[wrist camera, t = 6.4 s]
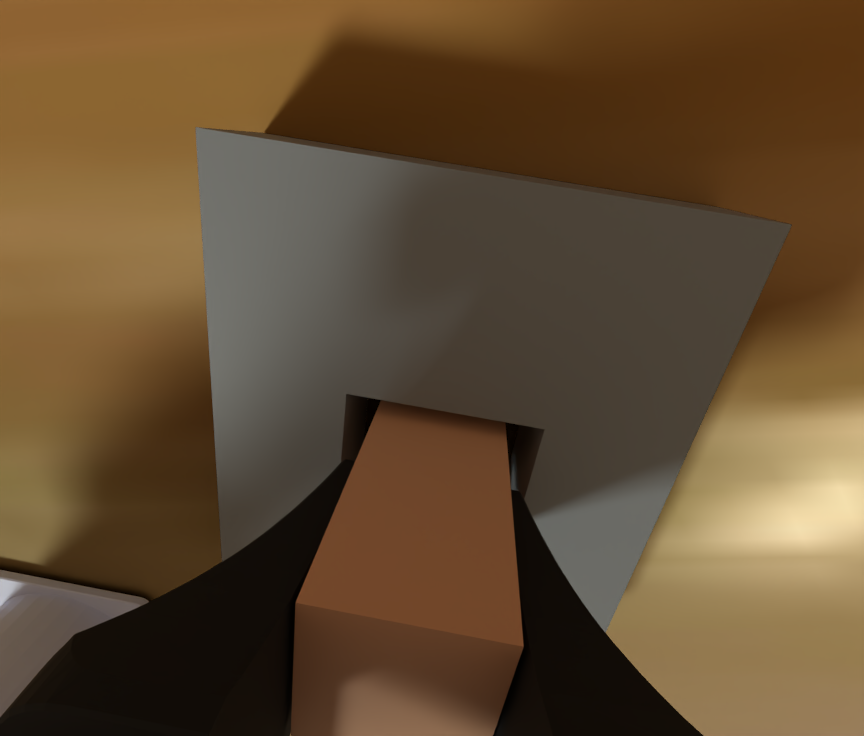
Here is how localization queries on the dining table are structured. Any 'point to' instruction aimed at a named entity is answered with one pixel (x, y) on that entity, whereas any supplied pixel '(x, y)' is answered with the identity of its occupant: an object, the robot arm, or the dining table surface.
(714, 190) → the dining table surface
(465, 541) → the rust peg
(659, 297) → the grey flat block
